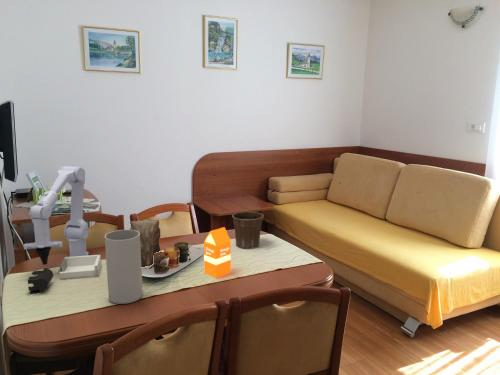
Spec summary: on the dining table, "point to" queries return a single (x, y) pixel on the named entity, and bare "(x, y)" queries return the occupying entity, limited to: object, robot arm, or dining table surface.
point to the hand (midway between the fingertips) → (45, 263)
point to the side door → (63, 266)
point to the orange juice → (217, 253)
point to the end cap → (40, 281)
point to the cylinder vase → (123, 266)
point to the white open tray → (81, 267)
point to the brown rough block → (147, 239)
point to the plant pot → (247, 229)
